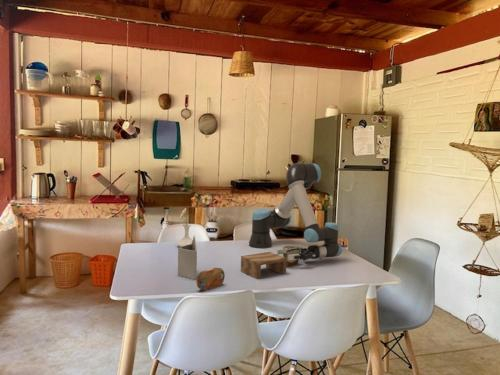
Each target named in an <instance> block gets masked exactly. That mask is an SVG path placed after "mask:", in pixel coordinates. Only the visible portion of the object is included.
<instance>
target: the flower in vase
mask: <svg viewBox="0 0 500 375" xmlns="http://www.w3.org/2000/svg"><path fill="white" fill-rule="evenodd" d="M186 212H187V208H184V209H182V211H181V213H180V216H179V220H181V219H182V218H183V217H185V220H184V222H185V223H184V224H182V227H183V228H184V236H183V237H182V238H181V239H180V240H179V241H178V242H177V246H178V247H182V246H186V245H189V244H191V243H192V241H193V238H191V237H190V236H189V235H190V234H189V230H190V228H191V225H192V224H188V223H189V220H188V218H187V216H186Z"/></svg>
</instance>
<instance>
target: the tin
mask: <svg viewBox="0 0 500 375" xmlns="http://www.w3.org/2000/svg"><path fill="white" fill-rule="evenodd" d="M225 276H226V275H225V271H224V270H223V268H220V267H213V268H208V269H205V270H202V271H201V272H198V275H196V286H197V288H198V289H200V290H202V291H210V290H211V289H215V288H218V287H220V286H221V285H222V284H223V283H224V280H225Z"/></svg>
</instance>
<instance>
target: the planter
mask: <svg viewBox="0 0 500 375" xmlns="http://www.w3.org/2000/svg"><path fill="white" fill-rule="evenodd" d="M192 240H193V241H192V243H191V244H189V245H186V246H182V247H180V246H178V249H177V251H178V252H177V276H180V277H182V276H183V277H182V278H186V279H187V278H188V279H190V278H191V279H192V280H195V279H196V280H197V271H198V270H197V266H198V264H197V262H198V261H197V260H198V256H197V255H198V250H197V243H196V235H193V236H192Z"/></svg>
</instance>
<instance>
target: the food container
mask: <svg viewBox="0 0 500 375" xmlns="http://www.w3.org/2000/svg"><path fill="white" fill-rule="evenodd" d="M300 248H301V246H298V245H284V246H283V247H282V248H281V249H282V252H283V254H282V257H285V258H287V259H286V269H289V268H293V267H296V266H298V265H299V262H300V261H299V260H300V259H297V260H288V255H293V254H299V252H300ZM300 253H301V252H300Z"/></svg>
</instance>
